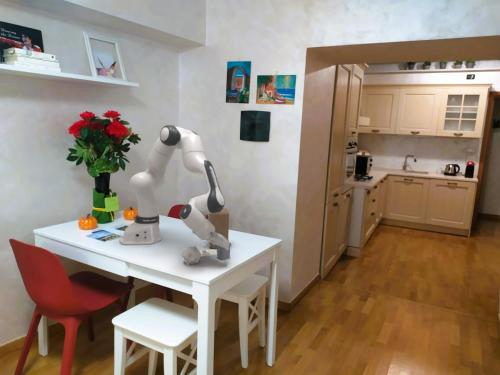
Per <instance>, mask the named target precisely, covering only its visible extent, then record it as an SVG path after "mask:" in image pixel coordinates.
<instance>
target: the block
mask: <svg viewBox="0 0 500 375" xmlns="http://www.w3.org/2000/svg"><path fill="white" fill-rule="evenodd" d="M208 216H209V218H208V220H209V221H210V222H211V223H212V224H213V225H214V227H215V232H216V233H218V234H221V235H222V236H223V237H225V238H226V239H227V240H228V241H229V230H230V228H229V227H230V213H229V211H228V209H227V208H223V209H222V211H221V212H217V213H211V214H208ZM208 244H209V248H210V249H217V245H213V244H212V243H211V242H209V241H208Z"/></svg>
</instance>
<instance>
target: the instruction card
mask: <svg viewBox="0 0 500 375" xmlns="http://www.w3.org/2000/svg"><path fill="white" fill-rule="evenodd" d="M199 252H200V253H201V256H200V258H201V257H202V258H203V257H209V256H210V257H212V256H217V250H216V249H215V248H212V249H204V250H199Z"/></svg>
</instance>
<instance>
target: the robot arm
mask: <svg viewBox="0 0 500 375" xmlns="http://www.w3.org/2000/svg"><path fill="white" fill-rule="evenodd" d="M176 149H177V150H181V153H182V154H181V155H182V163H183V166H184V168H185V169H186V170H187V171H189V172H190V173H194V174H201V175H203V176H204V178H205V179H204V180H205V182H206V185H207V189H208V191H207V193H204V194H200V195H197V196H195V197H193V198H190V199H189V200H188V203H187V204H184V205H183V206H182V207H181V209H180V211H179V217H180V219H181V221H182V222H183V223H184V225H185V226H186V227H187V228H188V229H190V230H192V231H191V233H193V235H195V236H197V238H199V239H200V240H201V241H207V242H208V243H209V242H211V243H212V244H213V245H218V246H220V247H222V248H224V249H225V250H228V249H229V247H228V246H229V244H230V245H231V243H230V241H229V239H228V240H227V239H226V238H225V237H223V236H222V235H221V234H218V233H216V232H215V227H214V225H213V224H212V223H211V222H210V221H209V218H208V219H207V218H206V216H209V214H211V213H217V212H221V211H222V209H224V207H225V204H226V201H225V197H224V195H223V193H222V191H221V188H220V185H219V181H218V178H217V174H216V171H215V169H214V167H213V164H212V162H211V161H210V160H207V158H206V153H205V148H204V144H203V141H202V138H201V136H200V135H199V134H198V133H197V132H195V131H193V130H190V129H187V128H185V127H180V126H175V125H172V124H166V125H164V126H163V127H162V129H161V130H160V133H159V136H158V138H156V140H155V142H154V144H153V146H152V149H151V150H150V152H149V155H148V156H147V159H146V161H147V163H148V164H147V167H146V170H145V171H141V172H136V174H134V175H132V176H131V177H130V179H129V184H128V185H129V188H130V189H131V191H133V192H134V195H135V197H136V201H137V215H136V214H133V215H132V218H133V219H134V220H133V222H132V223H131V224H130V225H129V226H127V227H126V228H125V230H124V232H123V235H122V236H120V238H119V242H120V244H122V245H124V246H127V245H128V246H129V245H132V246H133V245H136V246H137V245H152V244H154V243H157V242H160V241H161V240H162V235H161V232H160V214H159V200H158V199H157V198H156V195H155V193H154V192H155V191H154V190H157V189H159V188H161V187H162V186H163V185H164V184H165V182H166V177H165V175H166V170H167V167H168V165H169V163H170V161H171V160H172V157H173V155H174V152H175V151H176Z"/></svg>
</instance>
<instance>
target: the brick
mask: <svg viewBox="0 0 500 375" xmlns="http://www.w3.org/2000/svg"><path fill="white" fill-rule="evenodd" d="M228 247H229V249H228V250H225V249H224V248H222V247H220V246H218V245H217V248H216V249H217V250H216V252H217V255H216V258H217V259H219V260H221V261H225V260H230V259H231V243H230V244H229V246H228Z"/></svg>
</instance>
